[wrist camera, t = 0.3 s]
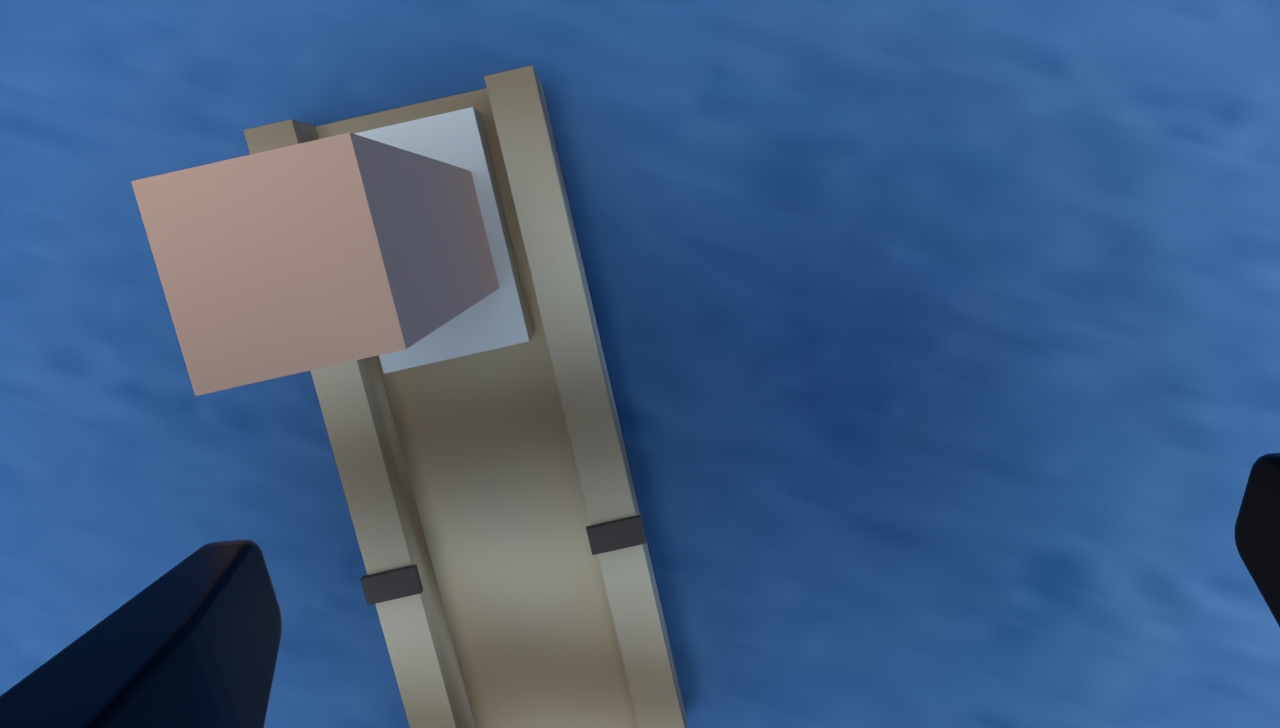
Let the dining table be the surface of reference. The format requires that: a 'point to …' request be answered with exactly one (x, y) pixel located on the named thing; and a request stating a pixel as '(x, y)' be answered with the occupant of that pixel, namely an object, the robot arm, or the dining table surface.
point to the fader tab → (337, 254)
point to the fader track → (503, 480)
